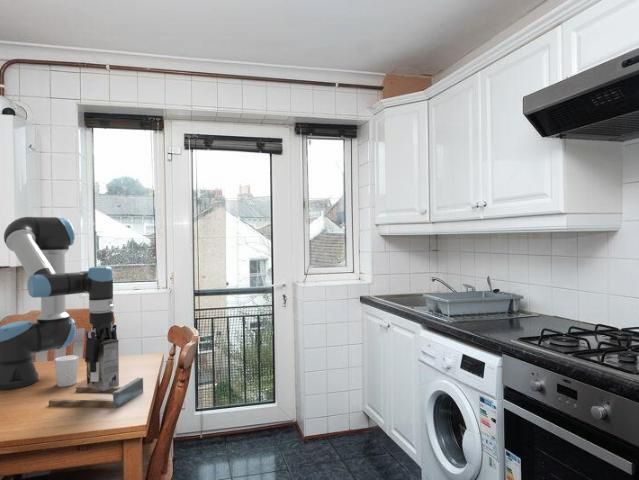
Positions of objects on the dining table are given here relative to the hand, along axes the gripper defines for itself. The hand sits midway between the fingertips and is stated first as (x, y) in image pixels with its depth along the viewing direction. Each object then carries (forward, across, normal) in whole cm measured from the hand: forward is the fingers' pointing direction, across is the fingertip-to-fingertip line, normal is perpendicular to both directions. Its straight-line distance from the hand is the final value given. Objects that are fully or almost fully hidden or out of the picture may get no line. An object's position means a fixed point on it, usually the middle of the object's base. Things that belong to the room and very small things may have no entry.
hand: (102, 377), depth 153 cm
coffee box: (+3, 0, 0) cm, 3 cm away
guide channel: (+7, 0, +3) cm, 8 cm away
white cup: (+8, +14, +24) cm, 29 cm away
